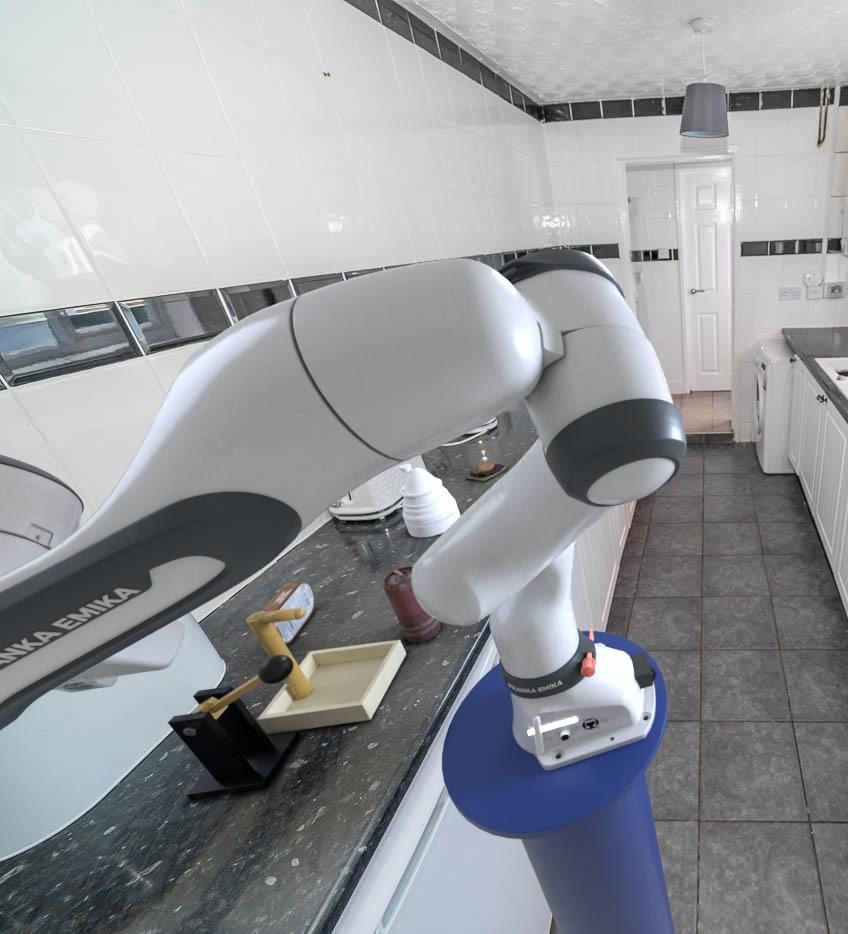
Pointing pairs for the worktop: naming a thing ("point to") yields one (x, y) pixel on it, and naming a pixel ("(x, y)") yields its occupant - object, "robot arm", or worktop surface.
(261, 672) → the tap lever
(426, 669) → the worktop surface
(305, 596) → the tin
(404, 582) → the can
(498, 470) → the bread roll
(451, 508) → the honey pot
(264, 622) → the spout
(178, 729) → the bracket
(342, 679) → the cream wooden tray
